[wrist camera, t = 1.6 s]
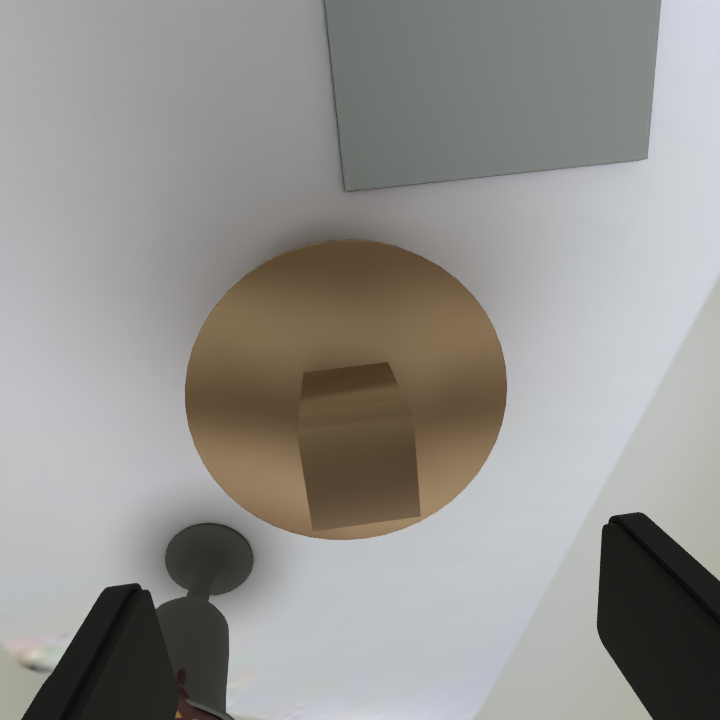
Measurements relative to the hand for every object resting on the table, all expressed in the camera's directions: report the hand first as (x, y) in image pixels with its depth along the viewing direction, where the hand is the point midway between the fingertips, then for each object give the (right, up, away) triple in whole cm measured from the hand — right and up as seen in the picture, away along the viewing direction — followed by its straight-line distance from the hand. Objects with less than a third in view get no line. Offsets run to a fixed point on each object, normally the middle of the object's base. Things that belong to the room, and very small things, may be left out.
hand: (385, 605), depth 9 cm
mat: (+5, +20, +10) cm, 23 cm away
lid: (-1, +4, +9) cm, 10 cm away
